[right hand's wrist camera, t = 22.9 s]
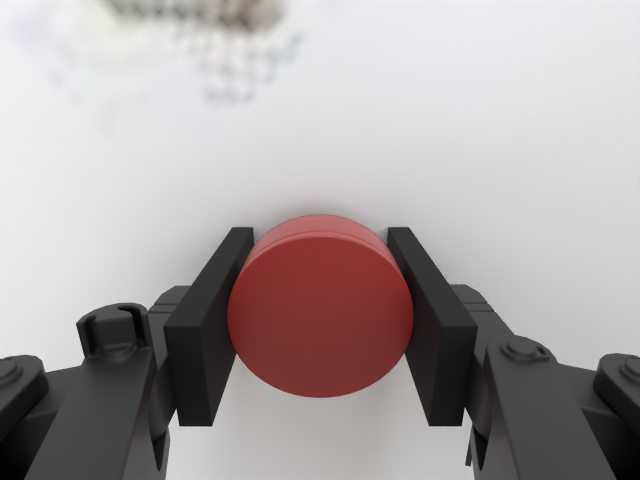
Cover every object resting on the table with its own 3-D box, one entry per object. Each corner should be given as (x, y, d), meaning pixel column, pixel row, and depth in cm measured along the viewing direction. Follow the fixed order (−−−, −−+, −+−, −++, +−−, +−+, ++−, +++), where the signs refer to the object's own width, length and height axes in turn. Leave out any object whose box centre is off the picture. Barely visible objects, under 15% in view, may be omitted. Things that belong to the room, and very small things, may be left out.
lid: (433, 281, 12) (453, 313, 10) (329, 381, 13) (330, 425, 11) (309, 178, 11) (307, 194, 9) (209, 299, 12) (189, 334, 10)
